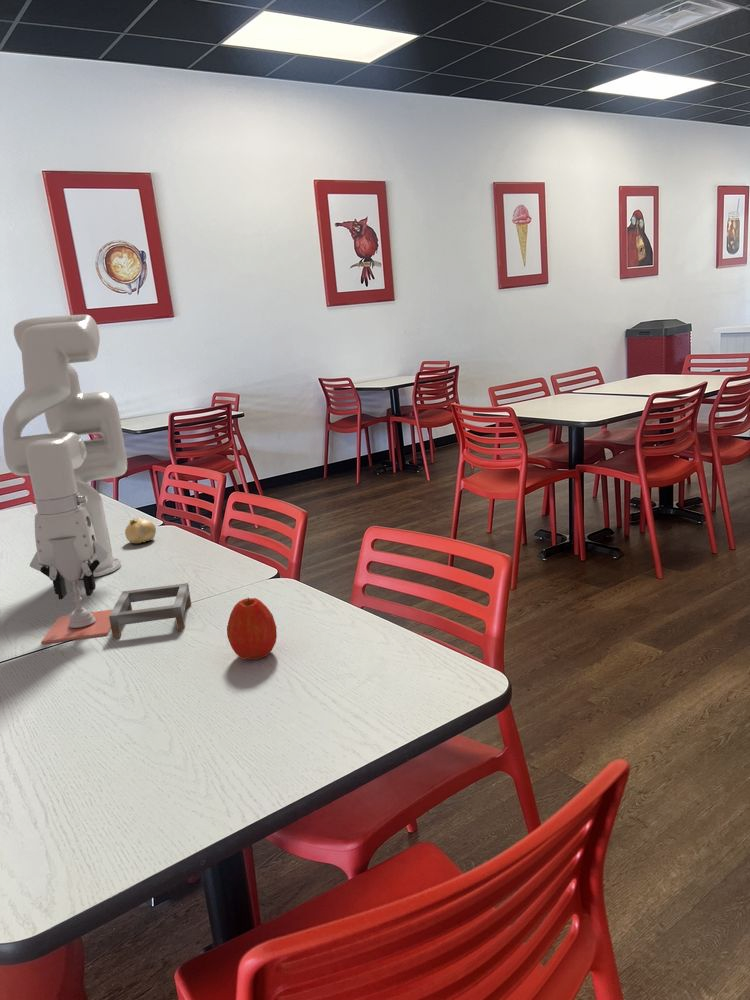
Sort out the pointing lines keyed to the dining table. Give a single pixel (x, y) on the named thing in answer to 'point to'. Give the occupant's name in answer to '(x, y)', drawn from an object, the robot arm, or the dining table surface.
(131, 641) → the dining table surface
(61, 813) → the dining table surface
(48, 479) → the robot arm
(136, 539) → the onion
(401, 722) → the dining table surface
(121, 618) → the ring stand
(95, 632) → the coaster
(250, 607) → the apple
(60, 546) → the chalice
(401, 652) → the dining table surface
